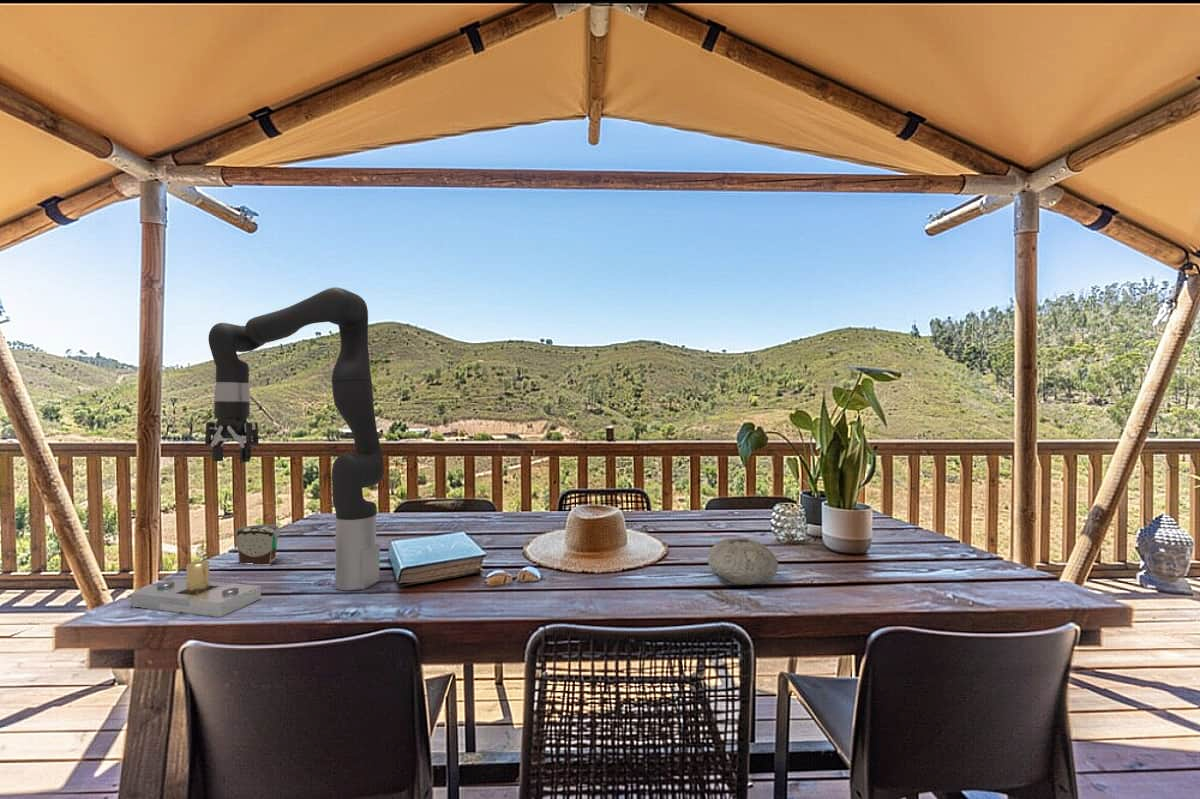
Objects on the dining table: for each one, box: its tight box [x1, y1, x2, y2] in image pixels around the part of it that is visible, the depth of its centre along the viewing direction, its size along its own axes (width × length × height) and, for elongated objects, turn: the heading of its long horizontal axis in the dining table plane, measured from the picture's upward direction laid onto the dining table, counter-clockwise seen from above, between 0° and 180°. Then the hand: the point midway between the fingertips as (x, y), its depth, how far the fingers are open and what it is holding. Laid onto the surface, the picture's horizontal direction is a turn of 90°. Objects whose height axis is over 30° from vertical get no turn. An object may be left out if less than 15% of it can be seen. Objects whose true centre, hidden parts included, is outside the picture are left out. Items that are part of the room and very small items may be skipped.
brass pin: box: [186, 560, 210, 595], centre depth 113 cm, size 4×4×9 cm
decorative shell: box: [707, 537, 779, 586], centre depth 131 cm, size 18×18×10 cm
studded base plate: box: [130, 577, 262, 618], centre depth 113 cm, size 24×10×4 cm, turn 79°
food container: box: [234, 524, 282, 566], centre depth 142 cm, size 12×6×10 cm, turn 84°
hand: (231, 461), depth 131 cm, fingers open, 8 cm apart
